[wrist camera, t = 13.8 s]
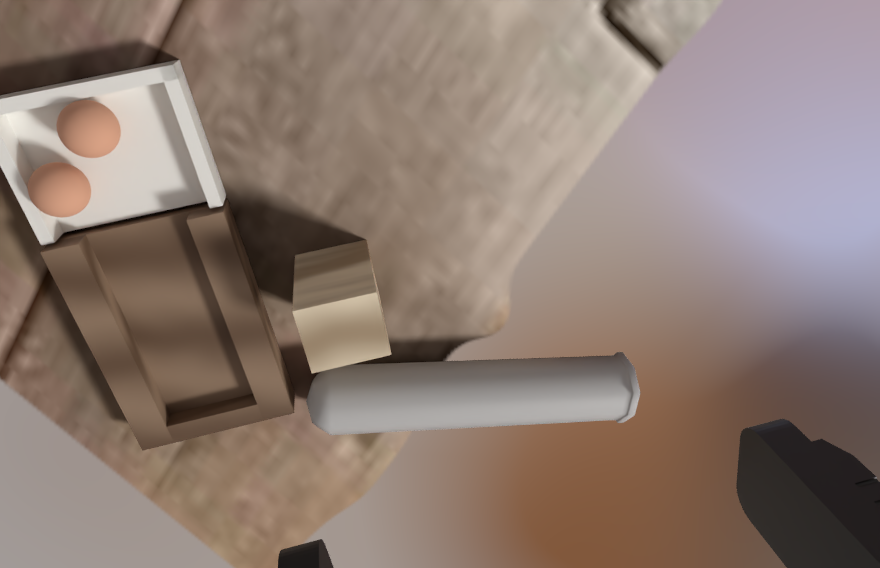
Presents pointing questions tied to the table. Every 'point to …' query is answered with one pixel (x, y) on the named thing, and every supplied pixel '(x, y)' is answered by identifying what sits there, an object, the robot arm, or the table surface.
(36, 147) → the tray
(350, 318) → the block
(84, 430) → the table surface
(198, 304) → the slot board
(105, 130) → the ball
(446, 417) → the tube
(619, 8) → the table surface
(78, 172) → the ball
